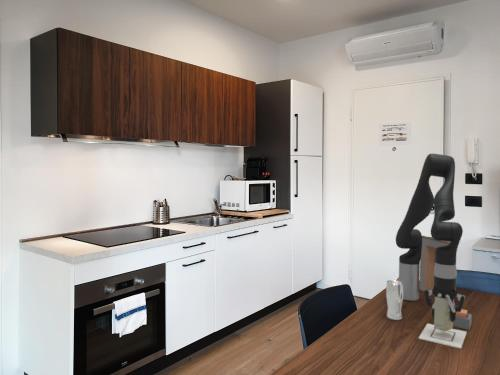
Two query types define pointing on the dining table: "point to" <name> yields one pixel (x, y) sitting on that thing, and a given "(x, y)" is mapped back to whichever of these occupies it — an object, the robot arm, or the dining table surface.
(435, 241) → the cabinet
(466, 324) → the button housing
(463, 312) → the button
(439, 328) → the skincare box
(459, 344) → the paper sheet
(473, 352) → the dining table surface
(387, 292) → the beer glass
